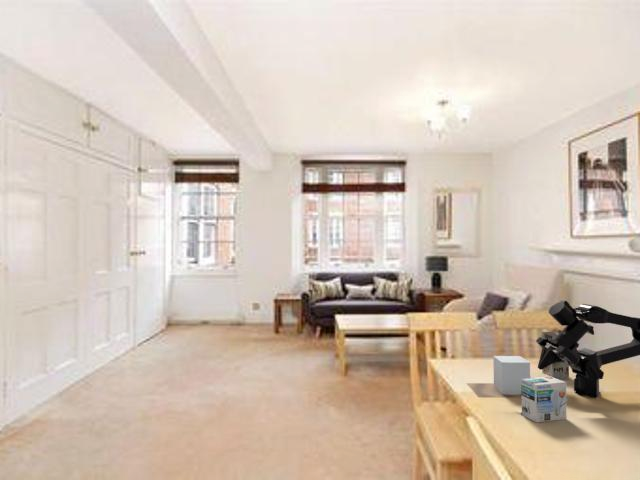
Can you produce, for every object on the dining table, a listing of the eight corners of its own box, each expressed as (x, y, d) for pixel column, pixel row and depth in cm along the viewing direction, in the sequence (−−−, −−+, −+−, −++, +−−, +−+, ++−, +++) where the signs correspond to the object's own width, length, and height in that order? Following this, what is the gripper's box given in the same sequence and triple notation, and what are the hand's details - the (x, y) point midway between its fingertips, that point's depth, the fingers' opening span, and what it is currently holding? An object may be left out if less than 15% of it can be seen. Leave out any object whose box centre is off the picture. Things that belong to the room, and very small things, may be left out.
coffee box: (570, 378, 173) (569, 335, 173) (552, 378, 173) (551, 335, 173) (557, 372, 182) (557, 331, 182) (541, 372, 182) (540, 331, 182)
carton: (520, 386, 160) (520, 356, 160) (530, 394, 151) (529, 362, 151) (493, 386, 161) (493, 355, 161) (502, 394, 152) (501, 362, 152)
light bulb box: (536, 423, 130) (536, 385, 130) (520, 415, 137) (520, 378, 137) (567, 419, 133) (567, 381, 133) (550, 411, 140) (549, 375, 140)
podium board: (523, 387, 163) (523, 383, 163) (541, 401, 148) (541, 397, 148) (466, 386, 164) (466, 383, 164) (478, 400, 149) (478, 397, 149)
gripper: (605, 358, 145) (571, 394, 145) (574, 345, 164) (543, 377, 164) (579, 333, 145) (545, 369, 145) (550, 323, 164) (520, 355, 164)
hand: (539, 368), depth 155 cm, fingers closed
